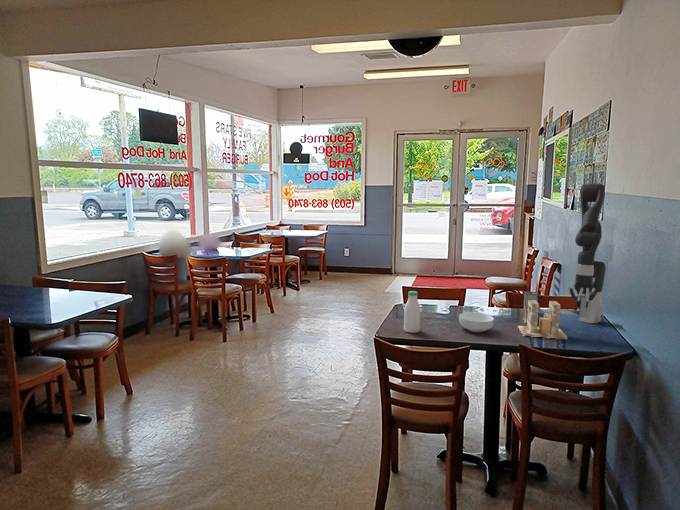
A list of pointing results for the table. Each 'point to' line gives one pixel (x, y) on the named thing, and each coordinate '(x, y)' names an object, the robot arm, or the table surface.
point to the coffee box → (527, 297)
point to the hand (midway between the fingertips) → (581, 308)
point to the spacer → (545, 325)
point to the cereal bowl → (476, 321)
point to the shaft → (578, 312)
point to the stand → (533, 318)
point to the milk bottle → (412, 313)
